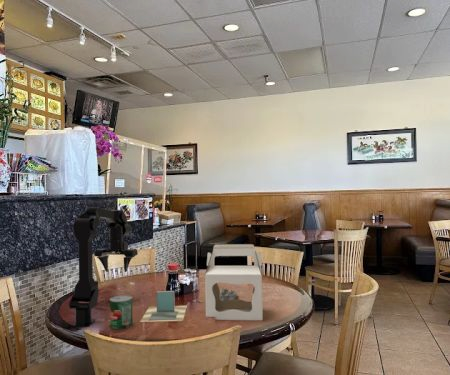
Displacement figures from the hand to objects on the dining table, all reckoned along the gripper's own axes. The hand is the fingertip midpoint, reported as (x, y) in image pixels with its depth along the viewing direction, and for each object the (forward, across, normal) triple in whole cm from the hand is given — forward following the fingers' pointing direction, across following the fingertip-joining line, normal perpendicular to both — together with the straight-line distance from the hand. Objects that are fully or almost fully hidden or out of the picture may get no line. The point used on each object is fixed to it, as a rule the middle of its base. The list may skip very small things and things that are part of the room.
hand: (116, 271), depth 160 cm
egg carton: (+14, -50, -12) cm, 53 cm away
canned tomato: (+14, -17, +29) cm, 37 cm away
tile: (+13, -28, +13) cm, 34 cm away
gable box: (+14, -56, +9) cm, 59 cm away
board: (+14, -29, +15) cm, 35 cm away
